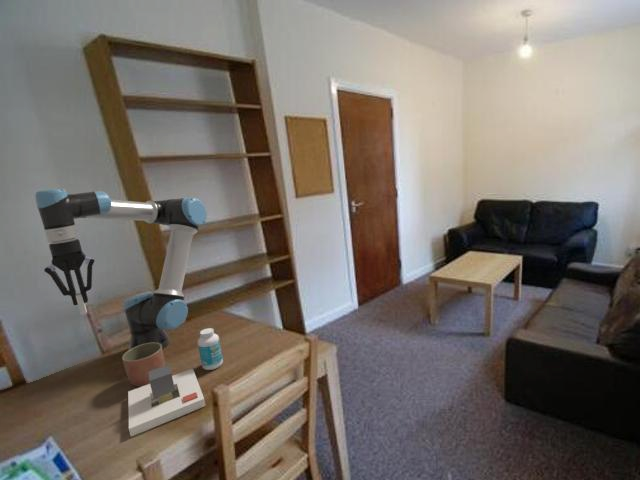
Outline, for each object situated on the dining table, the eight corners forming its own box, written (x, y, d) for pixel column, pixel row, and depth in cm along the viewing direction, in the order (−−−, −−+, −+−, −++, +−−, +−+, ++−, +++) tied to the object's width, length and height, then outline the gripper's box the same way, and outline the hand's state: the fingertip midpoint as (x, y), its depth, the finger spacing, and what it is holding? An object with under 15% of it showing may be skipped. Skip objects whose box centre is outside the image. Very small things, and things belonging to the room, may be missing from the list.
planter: (156, 365, 129) (150, 339, 126) (174, 374, 121) (168, 346, 119) (122, 384, 119) (115, 356, 117) (140, 395, 112) (132, 365, 109)
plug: (155, 400, 107) (148, 371, 105) (175, 392, 110) (169, 364, 108) (156, 410, 102) (149, 380, 100) (177, 402, 105) (171, 373, 103)
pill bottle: (217, 371, 120) (210, 336, 117) (198, 370, 122) (191, 336, 119) (227, 359, 127) (220, 326, 125) (209, 359, 129) (202, 326, 126)
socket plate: (130, 398, 110) (127, 390, 110) (194, 374, 120) (192, 367, 119) (130, 436, 93) (128, 427, 92) (205, 405, 102) (203, 397, 102)
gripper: (34, 247, 97) (57, 323, 102) (88, 237, 103) (107, 310, 108) (39, 243, 103) (60, 315, 108) (89, 235, 110) (107, 303, 115)
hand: (84, 313), depth 108 cm, fingers closed
